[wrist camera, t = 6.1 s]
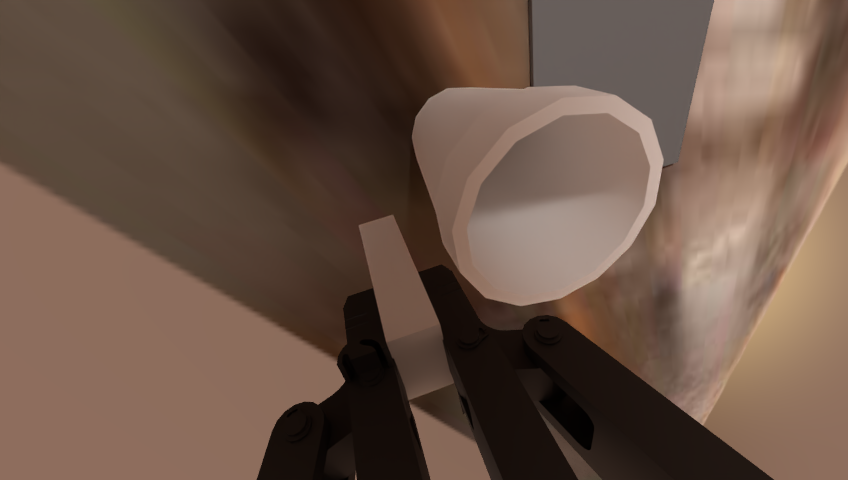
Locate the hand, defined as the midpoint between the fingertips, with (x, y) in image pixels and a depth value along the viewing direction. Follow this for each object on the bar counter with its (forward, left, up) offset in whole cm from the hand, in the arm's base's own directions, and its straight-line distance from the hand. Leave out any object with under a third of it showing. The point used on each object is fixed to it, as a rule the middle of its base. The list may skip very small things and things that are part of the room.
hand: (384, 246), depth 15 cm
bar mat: (0, +20, -11) cm, 23 cm away
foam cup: (0, +7, -11) cm, 13 cm away
